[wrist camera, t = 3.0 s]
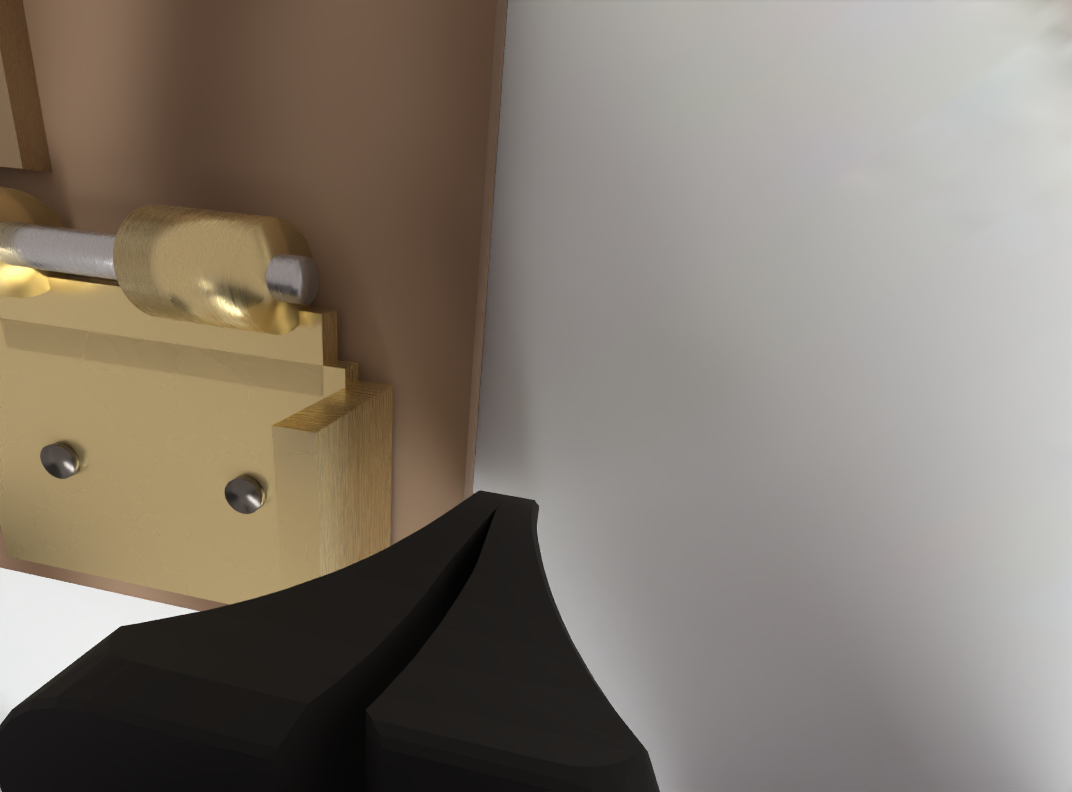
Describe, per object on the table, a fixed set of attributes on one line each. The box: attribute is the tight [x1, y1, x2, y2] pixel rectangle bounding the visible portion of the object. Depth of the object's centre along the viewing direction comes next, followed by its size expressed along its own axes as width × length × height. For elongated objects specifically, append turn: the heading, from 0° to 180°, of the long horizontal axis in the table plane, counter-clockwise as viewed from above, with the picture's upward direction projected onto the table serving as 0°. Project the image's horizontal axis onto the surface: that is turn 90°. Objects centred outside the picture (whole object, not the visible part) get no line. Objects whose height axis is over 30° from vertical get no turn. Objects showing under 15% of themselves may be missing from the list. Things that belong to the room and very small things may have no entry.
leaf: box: [0, 187, 393, 604], centre depth 11 cm, size 15×10×3 cm, turn 84°
